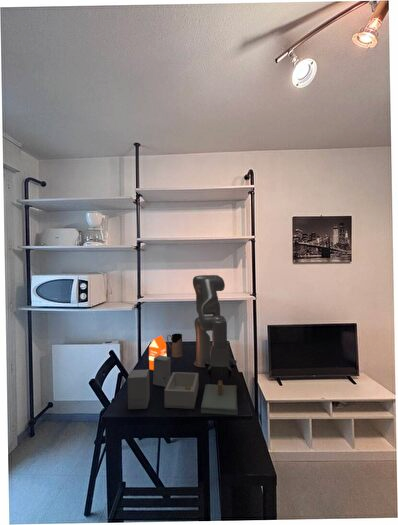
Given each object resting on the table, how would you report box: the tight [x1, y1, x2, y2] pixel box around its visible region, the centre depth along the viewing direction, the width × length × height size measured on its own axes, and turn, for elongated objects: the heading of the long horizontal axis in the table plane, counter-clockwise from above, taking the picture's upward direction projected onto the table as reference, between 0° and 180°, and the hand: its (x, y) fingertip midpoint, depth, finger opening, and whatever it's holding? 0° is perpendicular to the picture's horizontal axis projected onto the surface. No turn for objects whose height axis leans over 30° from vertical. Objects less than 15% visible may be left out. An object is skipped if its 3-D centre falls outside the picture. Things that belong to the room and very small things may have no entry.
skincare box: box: [152, 355, 172, 388], centre depth 142 cm, size 8×6×15 cm
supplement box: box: [127, 369, 151, 410], centre depth 122 cm, size 9×9×15 cm
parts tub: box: [164, 371, 200, 410], centre depth 128 cm, size 20×14×8 cm
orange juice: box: [148, 335, 168, 371], centre depth 164 cm, size 8×9×20 cm
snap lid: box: [200, 379, 239, 416], centre depth 124 cm, size 22×16×7 cm
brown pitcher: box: [166, 333, 184, 358], centre depth 187 cm, size 9×14×15 cm, turn 53°
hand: (219, 376), depth 130 cm, fingers open, 9 cm apart
